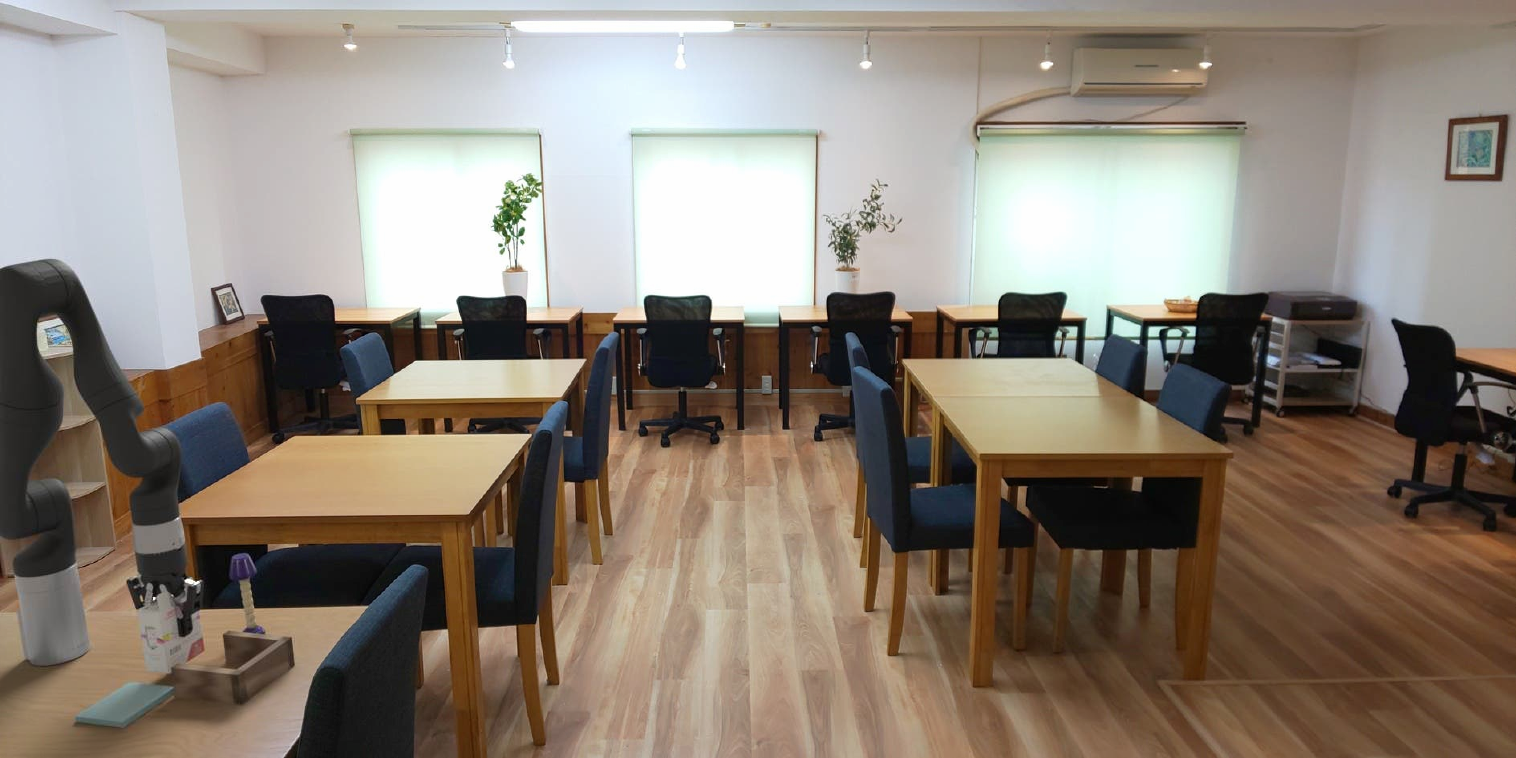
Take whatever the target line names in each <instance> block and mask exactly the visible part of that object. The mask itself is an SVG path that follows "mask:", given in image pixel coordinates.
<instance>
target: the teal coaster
mask: <svg viewBox="0 0 1516 758" xmlns="http://www.w3.org/2000/svg"><path fill="white" fill-rule="evenodd" d="M173 695H175V693H174V686H170V685H169V686H168V685H160V684H153V683H142V682H135V681H134V682H133V681H129V682H127V683H126V684H124V685H123V686H122V687H120V688H118V689H116V690H115V691H113V692H112V693H110V694H108V695H107V696H105V697H104V698H102V699H100V700H99V701H97V702H95V703H93V704H92V705H91V706H90V707H88V708H86V709H84V710H82V711H81V712H79V713H78V714H76V715H75V716H74V717H75V722H76V723H84V724H92V725H98V726H106V727H107V726H108V727H113V728H122V729H123V728H125V727H127V726H128V725H129V724H131V723H133V722H134V721H135V720H137V719H138V718H140V717H141V716H143V715H144V714H146V713H148V712H149V711H151V710H152V709H153V708H155V707H157V706H158V705H159V704H161V703H163V702H164V701H165V700H167V699H168V698H170V697H171V696H173Z"/></svg>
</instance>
